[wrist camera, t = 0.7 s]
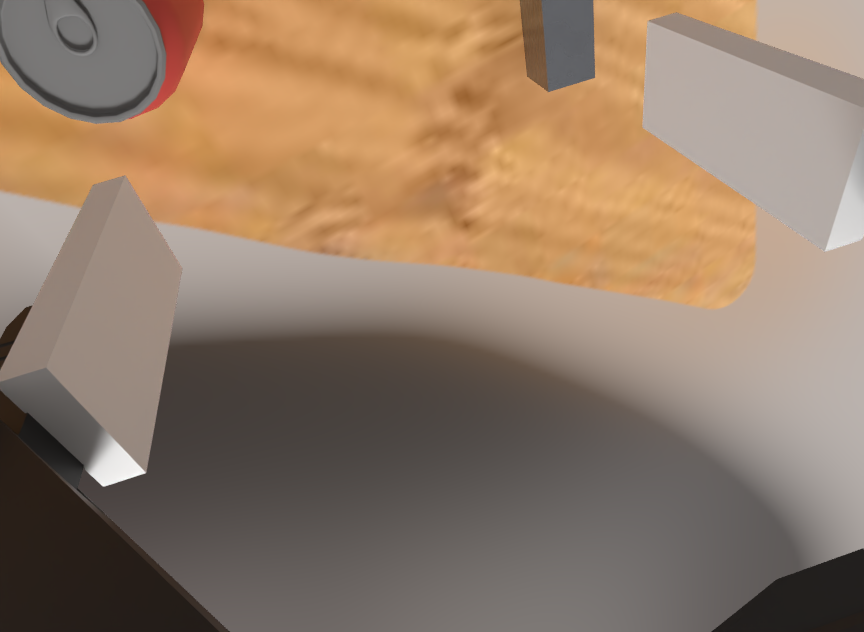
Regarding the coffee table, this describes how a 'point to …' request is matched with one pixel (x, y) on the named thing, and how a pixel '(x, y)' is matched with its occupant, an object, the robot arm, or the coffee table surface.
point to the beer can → (98, 53)
